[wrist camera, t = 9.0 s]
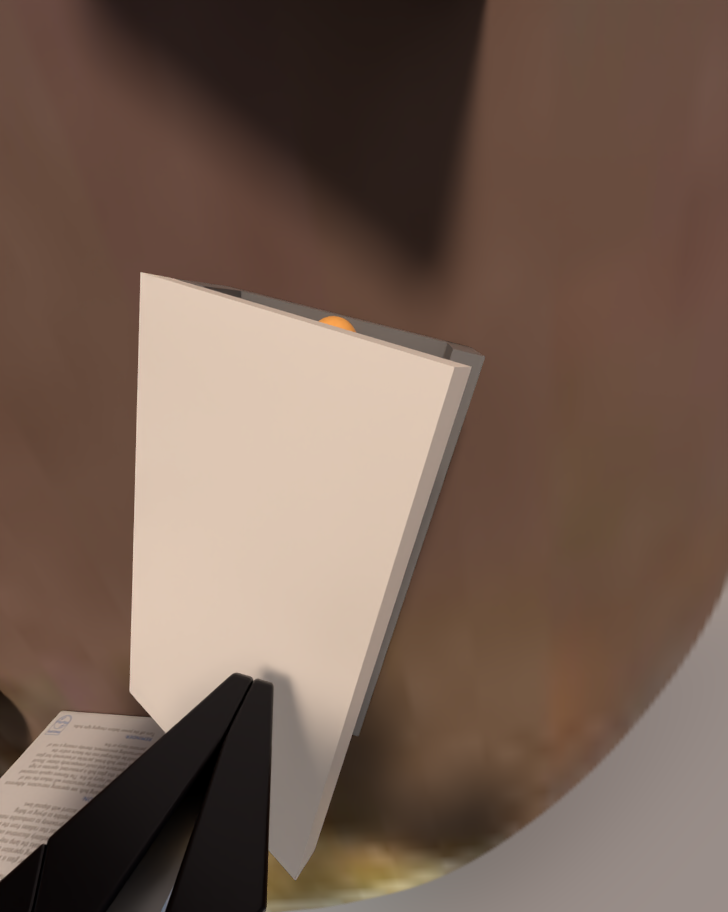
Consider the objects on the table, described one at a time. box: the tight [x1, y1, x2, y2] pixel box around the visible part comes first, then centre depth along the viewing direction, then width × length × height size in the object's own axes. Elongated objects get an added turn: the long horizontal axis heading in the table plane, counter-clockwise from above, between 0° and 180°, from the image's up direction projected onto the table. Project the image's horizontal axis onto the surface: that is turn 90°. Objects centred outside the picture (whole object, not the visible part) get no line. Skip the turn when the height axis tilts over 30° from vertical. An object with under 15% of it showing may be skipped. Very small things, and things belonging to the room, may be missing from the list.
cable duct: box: [177, 279, 485, 736], centre depth 14 cm, size 8×14×3 cm, turn 167°
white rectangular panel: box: [130, 272, 472, 881], centre depth 10 cm, size 8×14×1 cm, turn 168°
